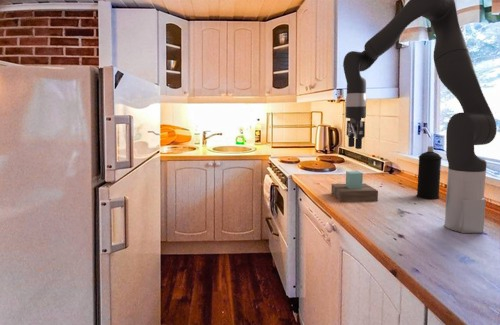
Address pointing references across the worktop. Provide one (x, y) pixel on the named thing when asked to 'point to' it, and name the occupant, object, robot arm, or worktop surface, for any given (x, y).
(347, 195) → the stacking base
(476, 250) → the worktop surface
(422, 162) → the aerosol can
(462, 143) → the robot arm
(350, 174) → the teal block
